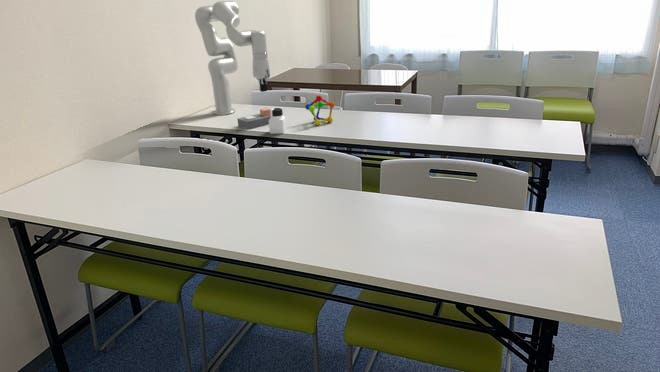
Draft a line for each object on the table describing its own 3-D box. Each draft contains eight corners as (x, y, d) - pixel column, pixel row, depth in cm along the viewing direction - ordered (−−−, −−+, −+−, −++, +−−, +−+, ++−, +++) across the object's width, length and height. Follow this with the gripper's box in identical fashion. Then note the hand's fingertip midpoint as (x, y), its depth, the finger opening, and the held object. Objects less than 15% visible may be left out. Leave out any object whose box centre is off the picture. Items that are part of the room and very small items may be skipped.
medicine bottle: (286, 129, 250) (284, 106, 246) (283, 133, 244) (281, 110, 239) (272, 129, 251) (270, 107, 246) (269, 133, 244) (267, 110, 240)
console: (238, 125, 261) (237, 118, 260) (269, 118, 273) (268, 111, 271) (248, 129, 254) (247, 121, 253) (279, 121, 266) (278, 114, 264)
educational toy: (319, 119, 270) (320, 92, 265) (336, 123, 261) (337, 95, 256) (298, 123, 259) (298, 94, 254) (315, 127, 251) (315, 98, 246)
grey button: (245, 124, 261) (244, 117, 259) (252, 123, 263) (251, 115, 262) (249, 126, 257) (248, 118, 256) (256, 124, 260) (256, 117, 259)
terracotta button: (260, 116, 266) (259, 109, 264) (267, 115, 268) (266, 107, 267) (265, 118, 262) (264, 110, 261) (271, 116, 265) (271, 109, 263)
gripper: (246, 55, 256) (250, 90, 263) (261, 57, 245) (265, 94, 252) (258, 54, 260) (262, 88, 267) (274, 56, 250) (277, 91, 257)
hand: (263, 91), depth 260 cm, fingers closed
